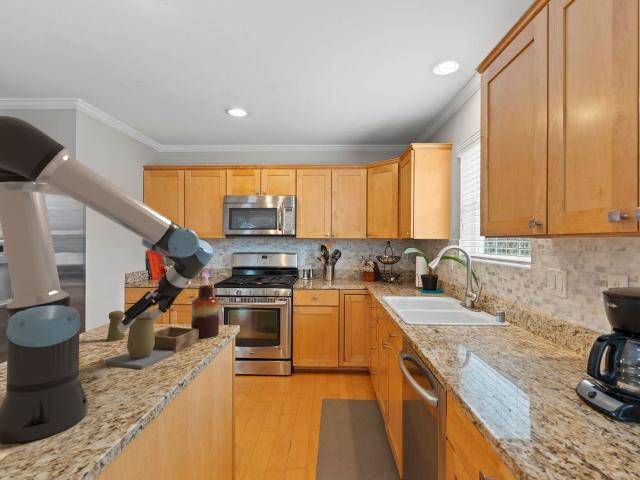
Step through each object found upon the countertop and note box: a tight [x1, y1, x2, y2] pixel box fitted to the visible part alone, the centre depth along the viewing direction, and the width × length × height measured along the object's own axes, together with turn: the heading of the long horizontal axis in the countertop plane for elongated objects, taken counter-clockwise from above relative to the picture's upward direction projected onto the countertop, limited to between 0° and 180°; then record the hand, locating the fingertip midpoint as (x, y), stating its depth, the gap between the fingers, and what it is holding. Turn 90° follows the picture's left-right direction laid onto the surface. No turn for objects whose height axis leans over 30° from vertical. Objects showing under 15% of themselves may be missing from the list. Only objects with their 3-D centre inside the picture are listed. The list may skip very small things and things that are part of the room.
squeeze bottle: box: [126, 310, 155, 358], centre depth 107 cm, size 8×8×18 cm
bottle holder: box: [153, 326, 200, 354], centre depth 122 cm, size 13×13×5 cm
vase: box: [190, 285, 220, 340], centre depth 137 cm, size 11×11×20 cm
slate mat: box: [104, 349, 175, 370], centre depth 107 cm, size 14×14×1 cm
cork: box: [106, 310, 126, 342], centre depth 130 cm, size 6×6×11 cm
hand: (134, 325), depth 108 cm, fingers open, 10 cm apart
